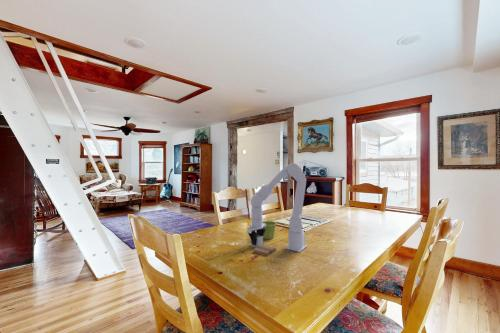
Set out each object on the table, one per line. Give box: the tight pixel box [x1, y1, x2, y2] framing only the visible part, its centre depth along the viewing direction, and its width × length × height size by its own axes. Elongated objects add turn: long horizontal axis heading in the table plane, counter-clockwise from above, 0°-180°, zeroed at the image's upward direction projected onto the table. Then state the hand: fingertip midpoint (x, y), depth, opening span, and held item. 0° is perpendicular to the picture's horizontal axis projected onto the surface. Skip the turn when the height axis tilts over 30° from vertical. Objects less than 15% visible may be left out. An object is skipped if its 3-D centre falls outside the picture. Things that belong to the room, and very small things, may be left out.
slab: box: [253, 244, 277, 257], centre depth 114 cm, size 8×8×2 cm
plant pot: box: [262, 220, 277, 240], centre depth 135 cm, size 9×9×9 cm
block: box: [250, 235, 264, 249], centre depth 122 cm, size 5×5×5 cm
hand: (256, 243), depth 122 cm, fingers open, 5 cm apart
